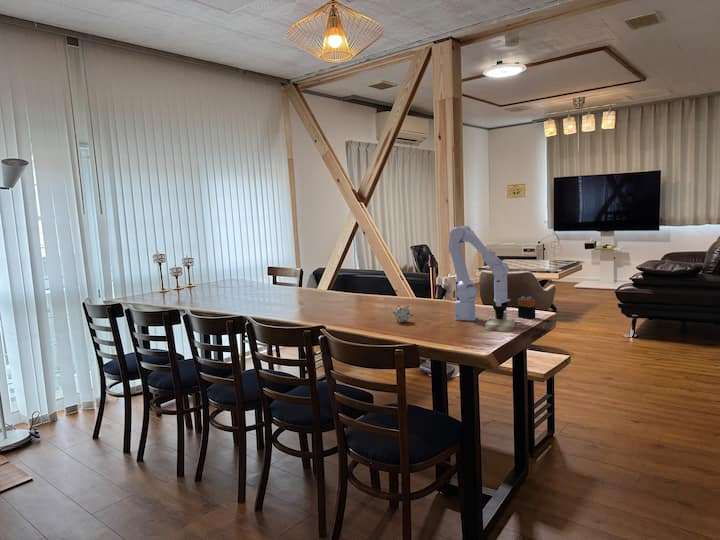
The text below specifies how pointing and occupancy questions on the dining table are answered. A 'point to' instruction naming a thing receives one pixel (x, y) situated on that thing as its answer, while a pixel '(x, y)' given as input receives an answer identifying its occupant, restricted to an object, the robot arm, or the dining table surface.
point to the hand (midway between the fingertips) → (501, 319)
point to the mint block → (503, 315)
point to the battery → (526, 307)
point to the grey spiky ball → (402, 314)
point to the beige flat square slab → (500, 325)
